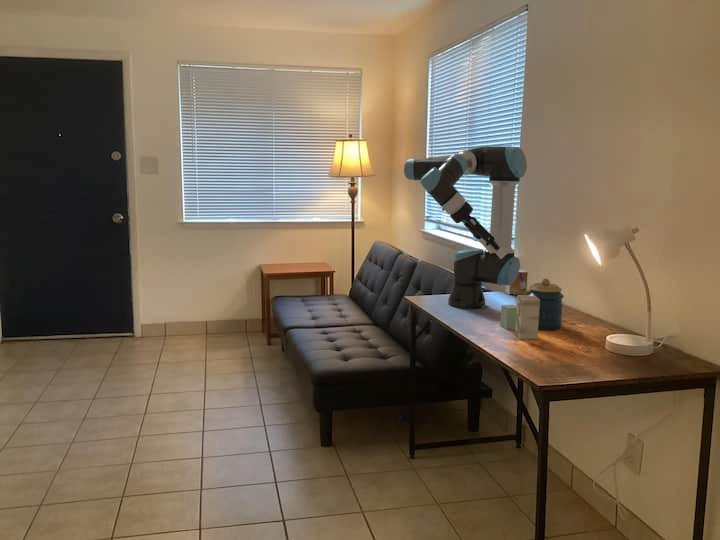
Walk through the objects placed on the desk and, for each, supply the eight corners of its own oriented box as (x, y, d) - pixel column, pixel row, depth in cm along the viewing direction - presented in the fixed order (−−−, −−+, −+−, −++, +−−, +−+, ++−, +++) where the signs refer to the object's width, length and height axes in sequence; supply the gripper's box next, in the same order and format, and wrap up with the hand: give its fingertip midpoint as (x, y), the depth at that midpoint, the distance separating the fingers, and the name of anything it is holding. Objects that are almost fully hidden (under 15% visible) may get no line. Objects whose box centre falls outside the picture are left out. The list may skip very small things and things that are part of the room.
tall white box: (515, 334, 220) (517, 295, 217) (532, 334, 220) (534, 295, 217) (519, 339, 214) (522, 299, 211) (537, 339, 214) (539, 299, 211)
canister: (555, 332, 223) (559, 283, 220) (519, 327, 230) (522, 279, 227) (565, 325, 233) (569, 278, 230) (531, 319, 240) (534, 274, 237)
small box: (509, 295, 284) (510, 271, 282) (505, 292, 289) (506, 269, 287) (526, 295, 284) (528, 271, 282) (522, 292, 290) (523, 269, 288)
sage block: (500, 326, 230) (501, 305, 229) (511, 325, 231) (512, 304, 230) (506, 329, 226) (507, 308, 224) (517, 329, 227) (518, 307, 226)
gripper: (442, 213, 225) (481, 256, 228) (456, 218, 200) (500, 266, 203) (458, 198, 224) (497, 242, 227) (474, 201, 200) (517, 250, 203)
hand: (498, 253), depth 215 cm, fingers open, 13 cm apart
